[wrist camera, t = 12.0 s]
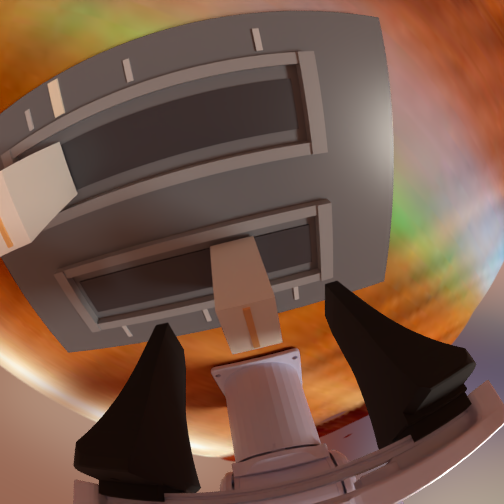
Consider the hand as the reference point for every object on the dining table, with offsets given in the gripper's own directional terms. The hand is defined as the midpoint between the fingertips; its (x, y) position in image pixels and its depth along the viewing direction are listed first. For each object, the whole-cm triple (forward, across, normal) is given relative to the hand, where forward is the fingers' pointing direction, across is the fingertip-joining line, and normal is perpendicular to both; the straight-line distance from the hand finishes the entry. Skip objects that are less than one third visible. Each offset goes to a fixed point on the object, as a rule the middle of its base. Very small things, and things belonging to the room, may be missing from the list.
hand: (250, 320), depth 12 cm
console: (+6, +3, -4) cm, 8 cm away
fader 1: (+4, +8, -8) cm, 12 cm away
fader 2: (+4, 0, 0) cm, 4 cm away
